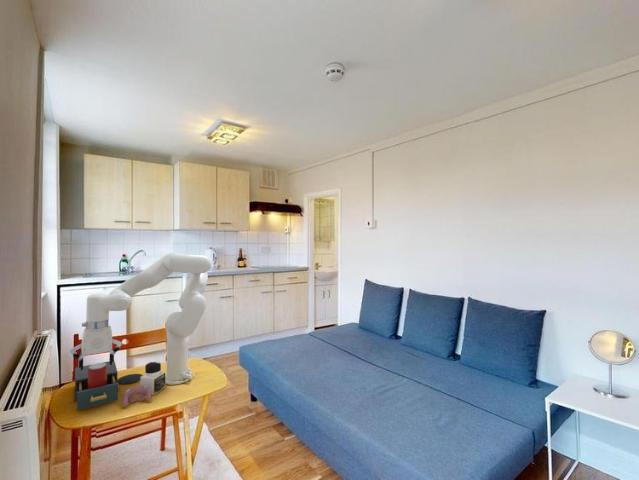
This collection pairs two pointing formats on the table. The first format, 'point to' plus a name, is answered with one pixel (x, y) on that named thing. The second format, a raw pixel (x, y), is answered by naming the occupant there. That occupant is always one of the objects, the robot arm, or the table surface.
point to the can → (97, 375)
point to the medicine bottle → (153, 377)
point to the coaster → (129, 379)
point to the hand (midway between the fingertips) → (96, 366)
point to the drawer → (96, 394)
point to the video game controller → (133, 391)
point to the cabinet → (83, 374)
